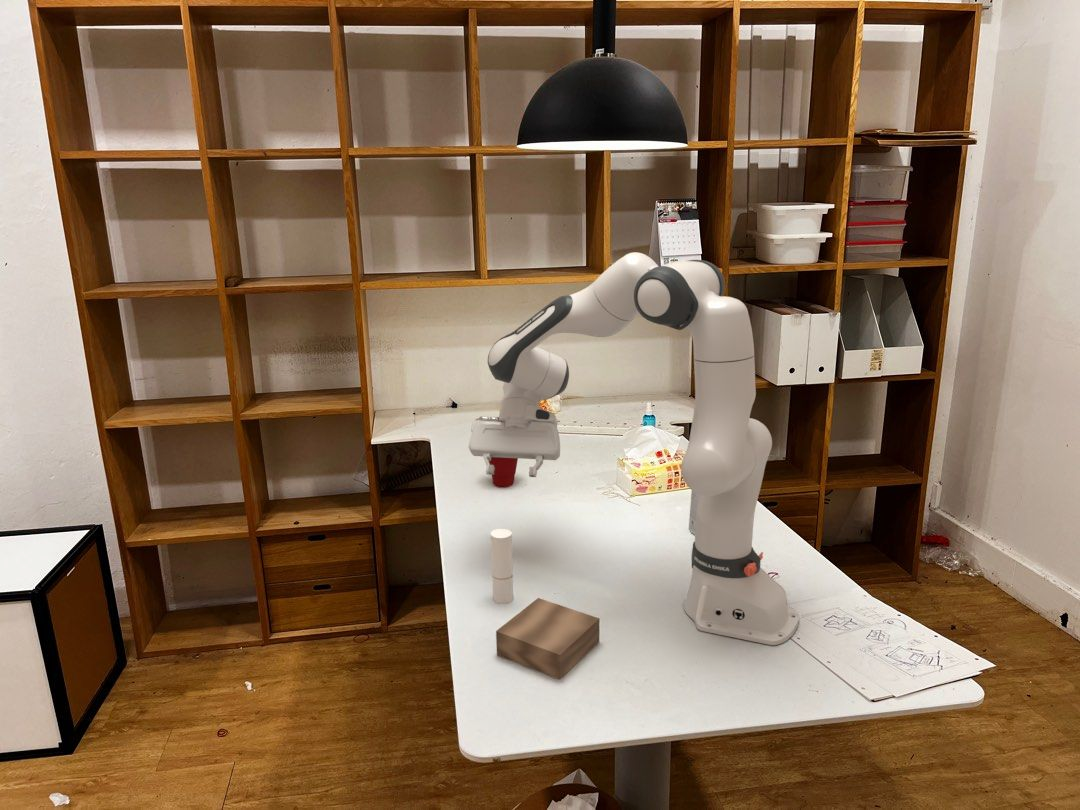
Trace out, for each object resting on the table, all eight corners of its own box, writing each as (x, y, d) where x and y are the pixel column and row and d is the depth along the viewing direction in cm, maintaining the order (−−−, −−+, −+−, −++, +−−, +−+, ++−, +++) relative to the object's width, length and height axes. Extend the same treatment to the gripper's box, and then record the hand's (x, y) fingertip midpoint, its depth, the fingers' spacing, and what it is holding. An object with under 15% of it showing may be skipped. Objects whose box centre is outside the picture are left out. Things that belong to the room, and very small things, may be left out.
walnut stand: (599, 641, 154) (599, 618, 152) (560, 679, 142) (559, 655, 141) (538, 619, 161) (538, 597, 160) (496, 654, 150) (496, 631, 148)
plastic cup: (528, 487, 226) (527, 447, 223) (491, 493, 223) (490, 453, 219) (516, 474, 236) (515, 436, 233) (480, 479, 233) (479, 440, 229)
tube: (503, 605, 166) (501, 540, 162) (488, 598, 169) (486, 533, 165) (517, 597, 169) (515, 532, 165) (502, 590, 172) (501, 527, 168)
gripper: (470, 409, 180) (461, 466, 173) (561, 413, 177) (555, 471, 170) (475, 422, 185) (467, 477, 179) (563, 426, 182) (558, 483, 176)
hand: (511, 475), depth 175 cm, fingers open, 8 cm apart
